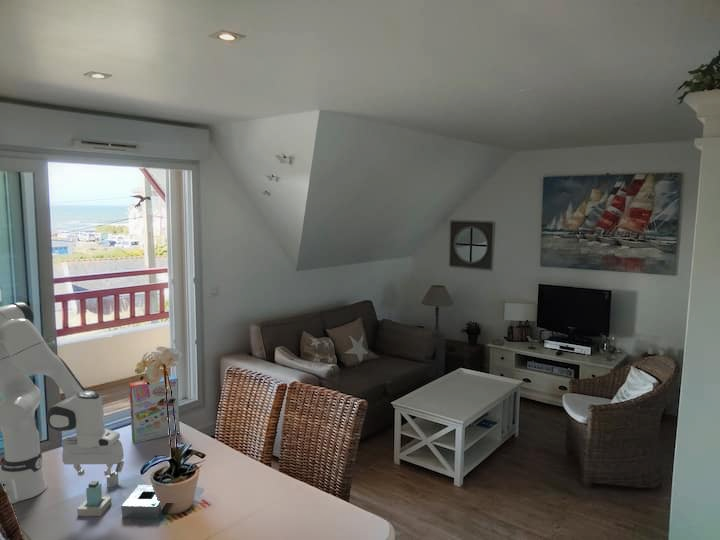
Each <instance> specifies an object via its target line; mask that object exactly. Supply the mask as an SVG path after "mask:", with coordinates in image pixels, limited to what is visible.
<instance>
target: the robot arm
mask: <svg viewBox="0 0 720 540" xmlns="http://www.w3.org/2000/svg"><path fill="white" fill-rule="evenodd" d="M34 319H35V315H34V312H33V309H32V308H31V307H30V305H28V304H26V303H25V302H22V301H18V302H16V301H15V302H10V303H9V304H5V305H2V306H1V305H0V395H1V396H2V401H1V402H0V431H1V435H2V438H3V449H4V456H3V457H2V458H1V459H0V464H1V465H0V483H2V484H3V486H4V488H5V490H6V492H7V494H8V496H9V498H10V501H11V503H12V504H16V503H18V502H21V501H25V500H28V499H29V500H30V499H31V498H34V497H37V496H39V495H40V494H42V493H44V491H45V490H46V489H47V488H48V483H47V482H46V479H45V476H44V472H43V455H42V450H41V447H40V446H41V445H40V444H41V443H40V432H39V430H38V429H37V425H36V421H35V413H36V410H37V409H38V407H39V405H40V404H41V400H42V391H41V390H40V388H39V387H38V386H36V384H34V382H33V380H32V379H31V378H30V376H29V375H42V376H47V377H49V378H51V379H52V380H53V381H54V382H55V384H56V385H57V386H58V387H59V389H60V390H61V392H62V393H63V394H64V396H65V399H63V400H61V401H60V402H59V401H58V403H56V404H55V405H53V406H51V407H50V408H49V409H48V410H47V412H46V414H45V415H46V416H45V417H46V424H47V426H49V427H50V428H51V430H53V431H56V432H65V431H70V430H75V431H76V432H75V433H76V436H75V437H70V436H69V437H66V438H65V439H64V438H63V439H62V442H61V447H62V454H61V456H62V459H61V460H62V464H64V465H73V468H74V469H75V471H76V472H77V476H78V477H80V476H84V475H85V473H86V472H85V469H84V468H82V467H81V465H106V467H107V468H106V469H105V470H104V472H103V473H104V476H108V475H110V474H111V472H112V468H113V466H114V465H117V464H118V463H120V462H121V461H123V459H124V456H125V455H124V454H125V453H124V448H123V444H122V442H121V440H119V439H120V436H121V435H120V432H118V431H114V430H111V429H108V428H106V427H105V423H104V413H105V411H104V405H103V399H102V397H101V395H100V393H98V391H96V390H95V391H94V390H88V389H86V388H85V387H84V386H83V385H82V384H81V381H79V380H78V378H77V377H76V375H75V374H74V373H73V371H72V370H71V369H70V368H69V366H68V365H67V363H66V362H65V360H63V359H62V358H61V357H60V356H59V355H57V354H56V353H54V352H53V350H51V348H50V347H49V346H48V344H47V342H46V341H45V339H44V337H43V335H42V334H41V333H40V331H39V329H37V327H36V326H35V325H34V324H33V323H34V321H35V320H34ZM12 504H11V505H12Z"/></svg>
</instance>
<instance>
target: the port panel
mask: <svg viewBox="0 0 720 540" xmlns="http://www.w3.org/2000/svg"><path fill="white" fill-rule="evenodd" d="M152 485H153V484H138V485H137V487H135V489H134V490H133V491H132V492H131V494H130V495H129V496H128V498H126V500H125V501H124V502H123V504H122V505H121V518H122V519H140V520H141V519H142V520H143V519H144V520H145V519H148V520H150V519H151V520H157V519H158V517H159V516H160V515H161V513H162V512H161V506H160V501H158V500H157V497H156V495H155V492H154V490H153V487H152Z"/></svg>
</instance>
